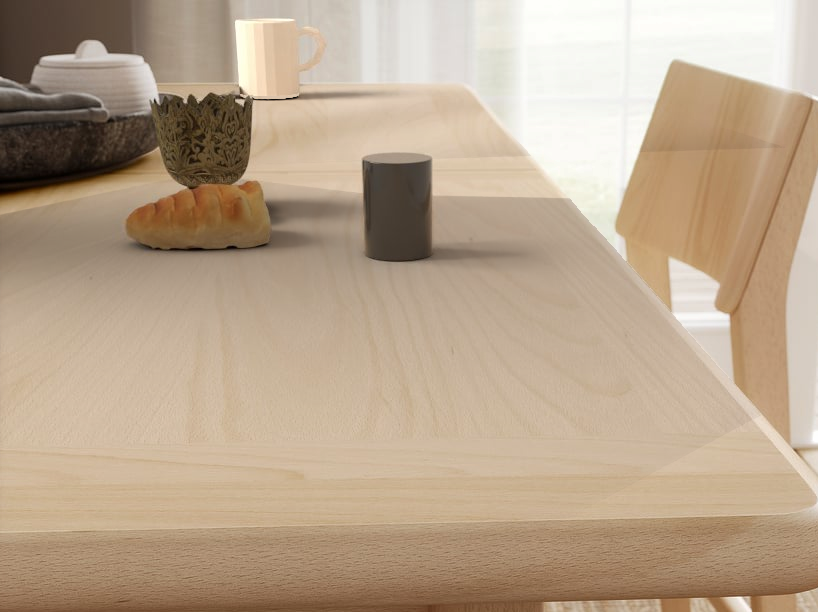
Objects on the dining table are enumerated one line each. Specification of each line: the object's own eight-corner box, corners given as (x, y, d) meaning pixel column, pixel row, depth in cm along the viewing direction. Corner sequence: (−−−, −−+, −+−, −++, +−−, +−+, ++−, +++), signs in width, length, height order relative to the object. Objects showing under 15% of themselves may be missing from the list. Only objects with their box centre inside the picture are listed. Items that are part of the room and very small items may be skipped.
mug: (331, 98, 157) (329, 20, 153) (241, 100, 155) (236, 21, 151) (325, 92, 164) (322, 18, 160) (239, 94, 162) (234, 18, 158)
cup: (140, 206, 89) (129, 97, 86) (219, 193, 94) (211, 89, 91) (199, 220, 84) (189, 105, 81) (279, 205, 89) (272, 97, 86)
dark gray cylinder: (358, 260, 73) (355, 162, 71) (370, 244, 77) (368, 151, 75) (428, 261, 73) (427, 164, 71) (436, 246, 77) (436, 152, 75)
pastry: (131, 257, 74) (125, 196, 72) (123, 236, 80) (117, 179, 78) (279, 246, 77) (275, 187, 75) (260, 226, 83) (257, 171, 81)
